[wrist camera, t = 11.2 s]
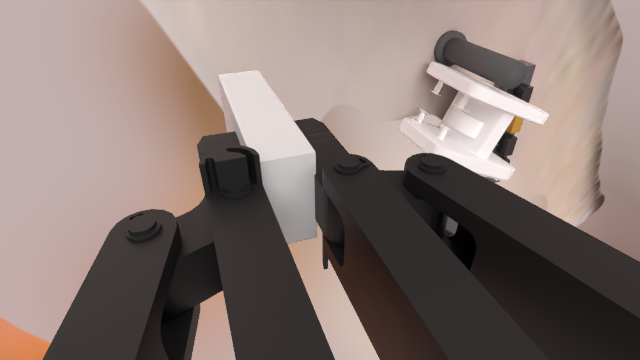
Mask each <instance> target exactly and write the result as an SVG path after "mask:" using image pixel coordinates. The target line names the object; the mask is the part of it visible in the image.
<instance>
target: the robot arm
mask: <svg viewBox="0 0 640 360" xmlns="http://www.w3.org/2000/svg"><path fill="white" fill-rule="evenodd" d="M218 79H219V85H220V91H221V97H222V104H223V110H224V116H225V122H226V129H227V133H222V134H215V135H209V136H203V137H202V138H201V140H200V142H199V143H198V145H197V147H198V153H199V158H200V162H199V168H200V172H201V177H202V182H203V186H204V191H205V196H204V199H203V200H202V202H201V203H200V204H199V205H198V206H197V207H195V208H194V209H193V210H191V211H189V212H187V213H185V214H183V215H181V216H179V217H176V218H175V217H174V215H173V214H172V213H170V212H167V211H165V210H155V209H151V210H145V211H140V212H137V213H134V214H132V215H129V216H127V217H125V218H124V219H123V220H121V221H120V222H118V223H117V224H116V225H115V226H114V227H113V229H112V230H111V231H110V232H109V234H108V236H107V238H106V240H105V242H104V244H103V246H102V248H101V250H100V251H99V253H98V255H97V257H96V259H95V261H94V263H93V265H92V267H91V268H90V270H89V272H88V274H87V276H86V278H85V280H84V282H83V284H82V286H81V288H80V289H79V291H78V293H77V295H76V297H75V299H74V301H73V303H72V305H71V307H70V309H69V310H68V312H67V314H66V316H65V318H64V320H63V322H62V324H61V326H60V327H59V329H58V331H57V333H56V335H55V337H54V339H53V341H52V343H51V345H50V347H49V348H48V350H47V352H46V354H45V356H44V358H43V360H191V357H192V352H193V346H194V341H195V335H196V330H197V325H198V319H199V313H200V303H201V302H203V301H205V300H207V299H208V298H210V297H212V296H214V295H215V294H217V293H218V292H221V291H222V290H223V292H224V297H225V303H226V308H227V314H228V319H229V325H230V330H231V336H232V341H233V347H234V352H235V358H236V360H335V359H334V356H333V354H332V351H331V349H330V347H329V344H328V342H327V339H326V337H325V334H324V332H323V330H322V327H321V325H320V322H319V320H318V318H317V315H316V313H315V310H314V308H313V305H312V303H311V300H310V298H309V296H308V293H307V291H306V288H305V286H304V284H303V281H302V279H301V276H300V274H299V271H298V269H297V267H296V264H295V262H294V259H293V257H292V254H291V252H290V249H289V247H288V245H287V244H290V243H294V242H298V241H302V240H306V239H311V238H314V237H317V223H318V225H319V226H320V228H321V230H322V232H323V266H324V269H327V268H328V259H329V260H330V262H331V264H332V266H333V268H334V270H335V272H336V274H337V276H338V278H339V280H340V282H341V284H342V286H343V288H344V290H345V292H346V294H347V296H348V298H349V300H350V302H351V303H352V305H353V307H354V309H355V311H356V313H357V315H358V317H359V319H360V321H361V323H362V325H363V327H364V329H365V331H366V333H367V335H368V337H369V339H370V341H371V343H372V345H373V347H374V349H375V350H376V353H377V355H378V357H379V359H380V360H640V262H639V261H637V260H635V259H633V258H631V257H630V256H628V255H626V254H624V253H622V252H620V251H619V250H617V249H615V248H613V247H611V246H609V245H608V244H606V243H604V242H602V241H600V240H598V239H597V238H595V237H593V236H591V235H589V234H587V233H585V232H584V231H582V230H580V229H578V228H576V227H574V226H573V225H571V224H569V223H567V222H565V221H563V220H562V219H560V218H558V217H556V216H554V215H552V214H551V213H549V212H547V211H545V210H543V209H541V208H539V207H538V206H536V205H534V204H532V203H530V202H528V201H526V200H525V199H523V198H521V197H519V196H517V195H516V194H514V193H512V192H510V191H508V190H506V189H504V188H503V187H501V186H499V185H497V184H495V183H493V182H492V181H490V180H488V179H486V178H484V177H482V176H481V175H479V174H477V173H475V172H473V171H471V170H470V169H468V168H466V167H464V166H462V165H460V164H458V163H457V162H455V161H453V160H451V159H449V158H447V157H444V156H442V155H437V154H434V153H420V154H416V155H412V156H411V157H409V158H408V159H407V160H406V163H405V167H404V171H384V170H378V168H377V167H376V166H375V165H374V164H373V163H372V162H371V161H369V160H368V159H367V158H365V157H362V156H359V155H353V154H349V153H348V152H347V151H346V150H345V149H344V147H343V146H342V145H341V144H340V143H339V141H338V140H337V139H336V138H335V136H334V135H333V134H332V133H331V132H330V131H329V129H328V128H327V127H326V126H325V124H324V123H322V122H320V121H318V120H315V119H313V118H309V119H303V120H296V121H294V120H293V119H292V117H291V116H290V115H289V113H288V112H287V110H286V109H285V107H284V106H283V104H282V103H281V102H280V100H279V99H278V97H277V96H276V94H275V93H274V92H273V90H272V89H271V87H270V86H269V84H268V83H267V81H266V80H265V79H264V77H263V76H262V74H261V73H260V71H259V70H254V71H245V72H237V73H228V74H220V75H218ZM448 217H449V218H451V219H452V220H454V221H455V222H457V223H458V226H457V230H456V233H451V232H449V231H448V230H447V229H446V225H447V221H448Z"/></svg>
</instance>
